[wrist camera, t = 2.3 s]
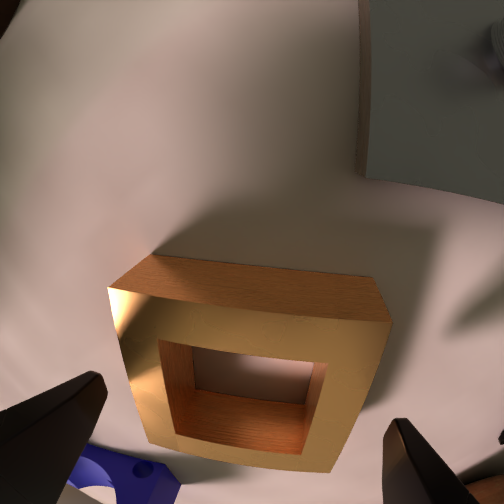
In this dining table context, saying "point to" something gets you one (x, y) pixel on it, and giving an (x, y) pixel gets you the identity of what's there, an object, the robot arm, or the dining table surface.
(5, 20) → the coffee mug
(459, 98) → the post
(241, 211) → the dining table surface
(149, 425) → the wooden square frame
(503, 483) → the ceramic jug
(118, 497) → the cable clip
